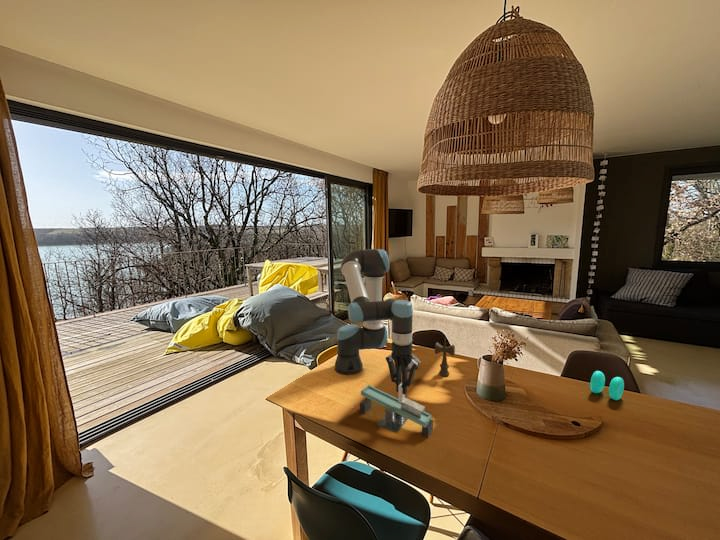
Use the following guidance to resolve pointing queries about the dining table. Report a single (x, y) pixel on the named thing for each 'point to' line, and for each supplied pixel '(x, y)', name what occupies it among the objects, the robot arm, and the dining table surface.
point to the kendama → (444, 356)
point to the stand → (393, 419)
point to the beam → (393, 404)
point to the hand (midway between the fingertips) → (401, 400)
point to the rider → (412, 408)
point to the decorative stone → (414, 360)
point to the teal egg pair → (614, 388)
